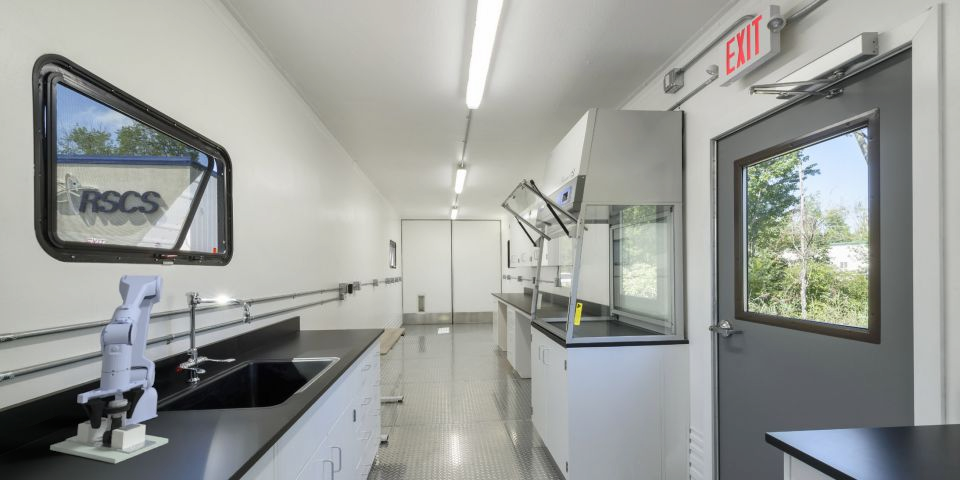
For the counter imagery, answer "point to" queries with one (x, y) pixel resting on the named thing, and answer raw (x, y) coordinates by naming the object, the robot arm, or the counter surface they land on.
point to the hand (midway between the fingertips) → (112, 423)
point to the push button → (114, 418)
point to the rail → (108, 446)
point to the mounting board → (104, 450)
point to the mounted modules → (113, 433)
